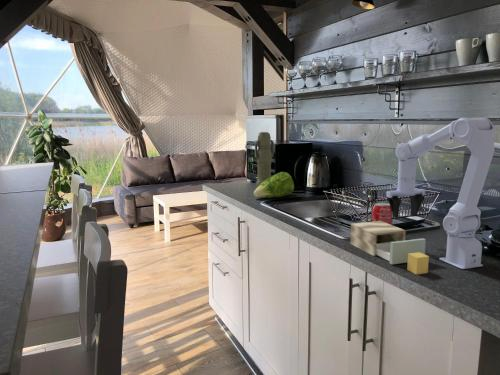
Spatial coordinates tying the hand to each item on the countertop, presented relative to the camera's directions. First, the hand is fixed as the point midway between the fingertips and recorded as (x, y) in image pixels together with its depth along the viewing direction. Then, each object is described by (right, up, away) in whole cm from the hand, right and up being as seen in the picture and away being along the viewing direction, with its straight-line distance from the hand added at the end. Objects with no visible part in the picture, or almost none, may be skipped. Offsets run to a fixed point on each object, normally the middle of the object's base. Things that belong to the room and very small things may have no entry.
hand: (404, 216), depth 151 cm
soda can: (-5, -8, +13) cm, 16 cm away
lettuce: (-42, +4, +88) cm, 97 cm away
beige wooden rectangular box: (-11, -11, -3) cm, 15 cm away
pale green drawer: (-8, -12, -12) cm, 18 cm away
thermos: (-46, +8, +106) cm, 116 cm away
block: (-5, -14, -25) cm, 30 cm away
